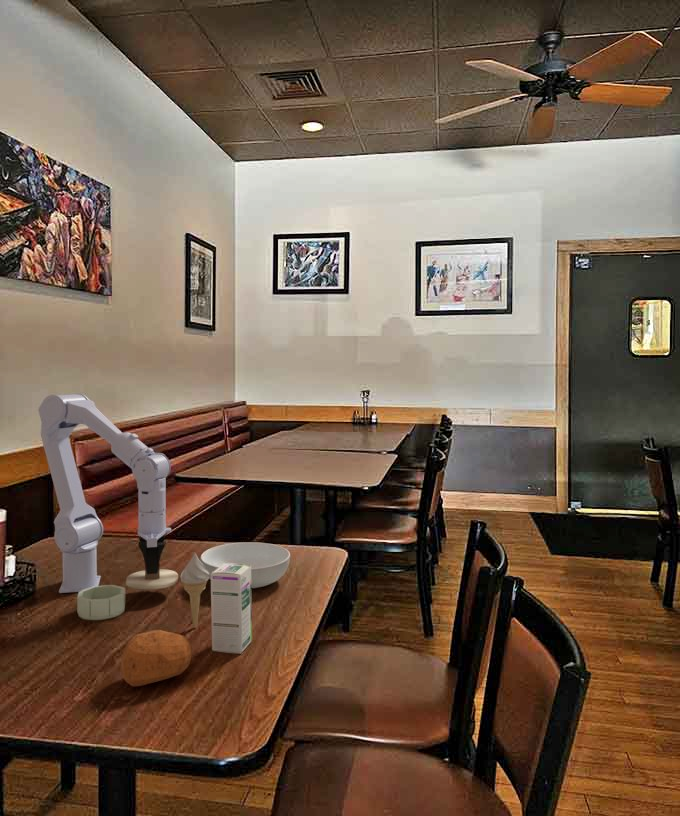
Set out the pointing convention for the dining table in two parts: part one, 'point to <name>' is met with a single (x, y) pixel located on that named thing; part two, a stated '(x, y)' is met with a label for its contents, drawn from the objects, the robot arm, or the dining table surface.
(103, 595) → the bowl
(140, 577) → the lid
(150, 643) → the potato
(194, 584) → the ice cream cone
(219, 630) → the syrup box
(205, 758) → the dining table surface
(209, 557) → the serving bowl
